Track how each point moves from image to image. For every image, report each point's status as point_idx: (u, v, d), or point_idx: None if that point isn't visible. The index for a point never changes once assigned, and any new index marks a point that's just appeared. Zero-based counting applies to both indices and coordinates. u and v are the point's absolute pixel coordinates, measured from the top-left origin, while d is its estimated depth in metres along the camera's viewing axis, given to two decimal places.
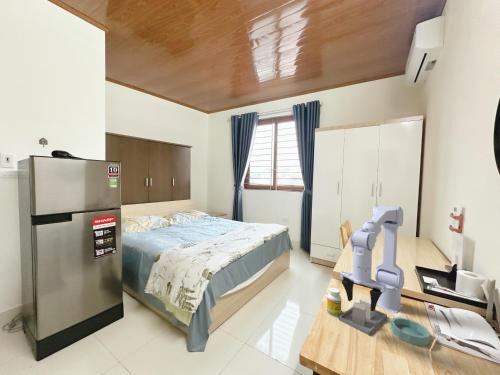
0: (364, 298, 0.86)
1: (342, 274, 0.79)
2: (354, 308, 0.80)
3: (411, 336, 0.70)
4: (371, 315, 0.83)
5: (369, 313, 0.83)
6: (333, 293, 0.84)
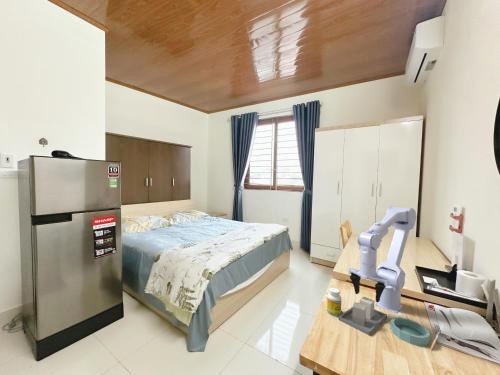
0: (364, 298, 0.86)
1: (350, 270, 0.89)
2: (354, 308, 0.80)
3: (411, 336, 0.70)
4: (371, 315, 0.83)
5: (369, 313, 0.83)
6: (333, 293, 0.84)
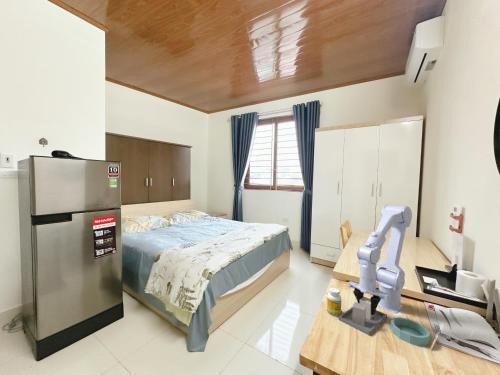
0: (364, 298, 0.86)
1: (350, 284, 0.89)
2: (354, 308, 0.80)
3: (411, 336, 0.70)
4: (371, 315, 0.83)
5: (369, 313, 0.83)
6: (333, 293, 0.84)
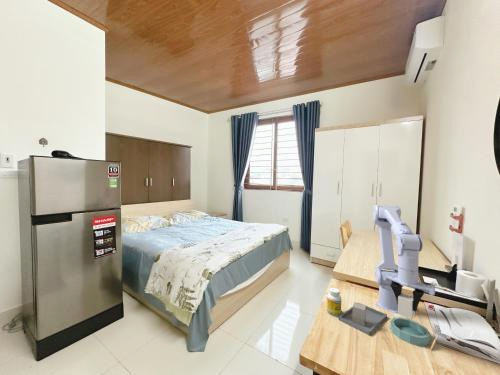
0: (403, 295, 0.76)
1: (385, 276, 0.79)
2: (354, 308, 0.80)
3: (411, 336, 0.70)
4: (412, 314, 0.73)
5: (410, 312, 0.72)
6: (333, 293, 0.84)
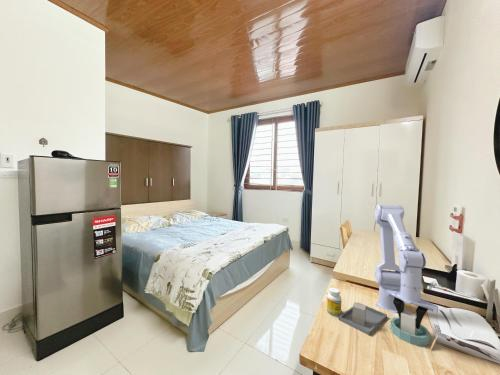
0: (405, 312, 0.75)
1: (388, 292, 0.79)
2: (354, 308, 0.80)
3: (411, 336, 0.70)
4: (415, 332, 0.72)
5: (413, 330, 0.71)
6: (333, 293, 0.84)
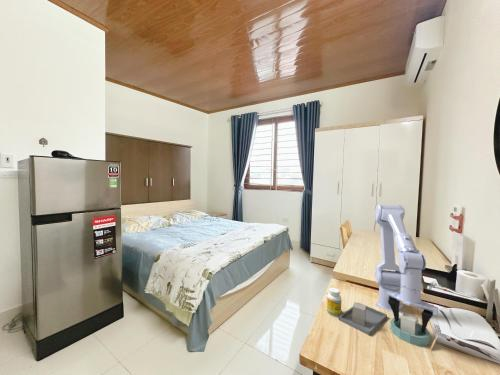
0: (405, 314, 0.75)
1: (388, 294, 0.79)
2: (354, 308, 0.80)
3: (411, 336, 0.70)
4: None
5: (413, 332, 0.72)
6: (333, 293, 0.84)
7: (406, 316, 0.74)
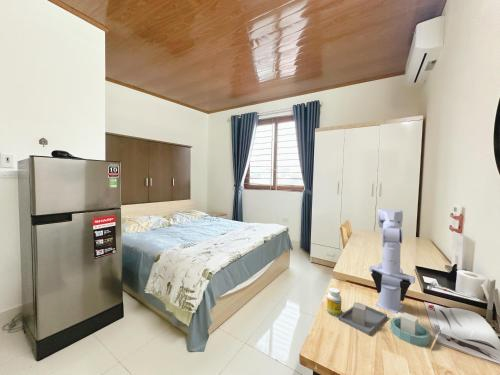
0: (405, 314, 0.75)
1: (371, 268, 0.85)
2: (354, 308, 0.80)
3: (411, 336, 0.70)
4: None
5: (413, 332, 0.72)
6: (333, 293, 0.84)
7: (406, 316, 0.74)
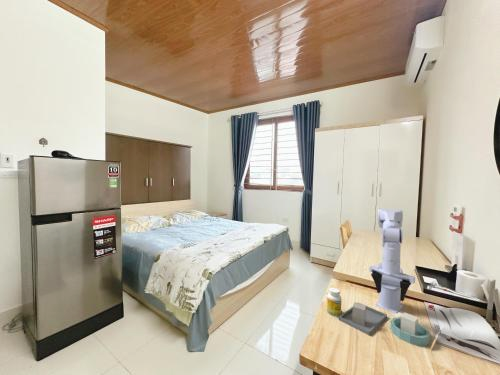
0: (405, 314, 0.75)
1: (371, 268, 0.85)
2: (354, 308, 0.80)
3: (411, 336, 0.70)
4: None
5: (413, 332, 0.72)
6: (333, 293, 0.84)
7: (406, 316, 0.74)
